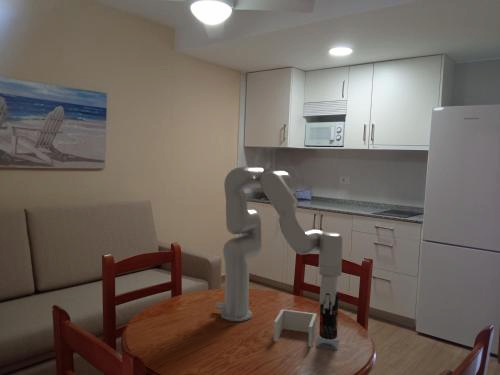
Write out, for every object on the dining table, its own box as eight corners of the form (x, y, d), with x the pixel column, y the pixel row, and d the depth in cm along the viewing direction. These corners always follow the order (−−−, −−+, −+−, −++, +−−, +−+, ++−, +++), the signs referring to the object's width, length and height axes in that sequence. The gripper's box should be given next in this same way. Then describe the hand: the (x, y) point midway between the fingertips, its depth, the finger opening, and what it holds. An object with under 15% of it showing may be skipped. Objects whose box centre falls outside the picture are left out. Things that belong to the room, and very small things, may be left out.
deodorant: (337, 340, 130) (338, 296, 129) (319, 338, 131) (320, 294, 130) (336, 332, 136) (338, 290, 135) (319, 331, 137) (320, 289, 136)
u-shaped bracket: (273, 341, 135) (274, 321, 135) (281, 327, 147) (281, 309, 146) (311, 347, 131) (311, 326, 131) (316, 332, 143) (316, 313, 142)
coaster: (316, 347, 131) (316, 345, 131) (318, 338, 138) (318, 337, 138) (337, 350, 129) (337, 349, 129) (338, 341, 136) (338, 340, 136)
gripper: (321, 262, 141) (320, 311, 143) (315, 275, 125) (313, 330, 126) (343, 264, 139) (341, 313, 140) (339, 277, 123) (337, 333, 124)
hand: (328, 321), depth 133 cm, fingers closed on deodorant, 5 cm apart
